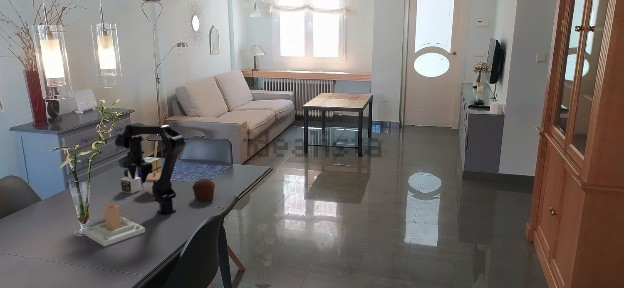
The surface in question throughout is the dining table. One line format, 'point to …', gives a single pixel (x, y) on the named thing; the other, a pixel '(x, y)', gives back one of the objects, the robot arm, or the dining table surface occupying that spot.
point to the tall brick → (112, 217)
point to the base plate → (113, 232)
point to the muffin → (203, 190)
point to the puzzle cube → (156, 165)
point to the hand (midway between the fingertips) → (138, 180)
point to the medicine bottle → (130, 183)
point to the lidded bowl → (151, 181)
